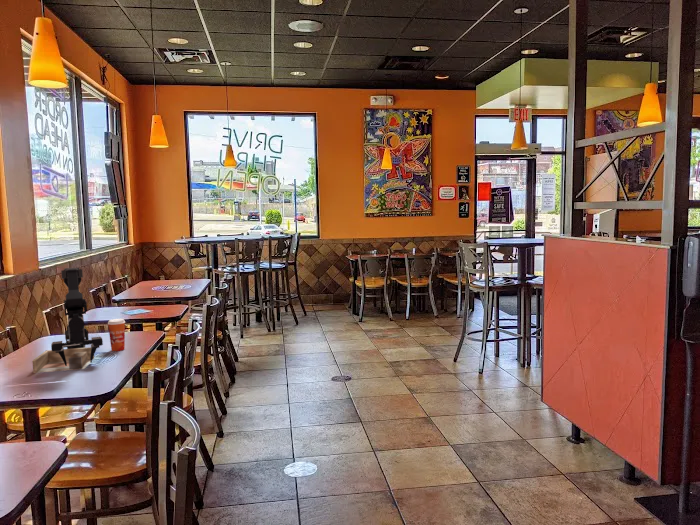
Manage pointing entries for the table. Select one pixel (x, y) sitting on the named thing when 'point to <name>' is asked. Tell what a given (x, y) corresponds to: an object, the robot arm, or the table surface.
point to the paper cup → (117, 334)
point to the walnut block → (78, 360)
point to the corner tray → (57, 360)
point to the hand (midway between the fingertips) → (78, 364)
